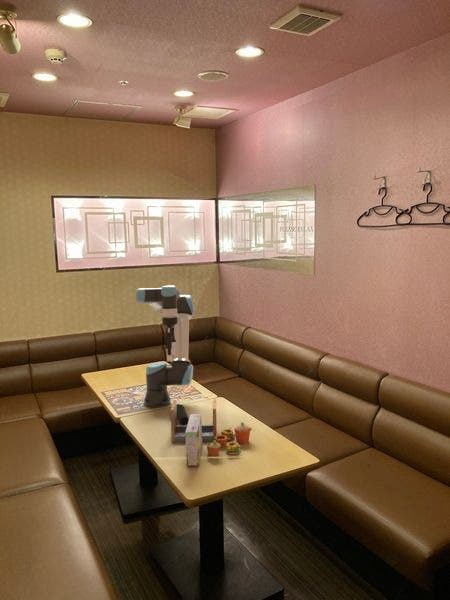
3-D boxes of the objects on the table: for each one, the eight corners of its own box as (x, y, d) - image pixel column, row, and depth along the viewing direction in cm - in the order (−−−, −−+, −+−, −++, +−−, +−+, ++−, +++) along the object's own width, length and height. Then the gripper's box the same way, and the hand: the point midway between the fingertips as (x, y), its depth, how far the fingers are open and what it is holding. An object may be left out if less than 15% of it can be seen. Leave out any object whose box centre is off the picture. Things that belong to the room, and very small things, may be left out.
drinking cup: (178, 430, 244) (169, 414, 262) (192, 426, 246) (182, 410, 265) (176, 416, 242) (166, 401, 260) (190, 412, 244) (180, 398, 263)
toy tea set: (223, 434, 234) (223, 414, 233) (254, 438, 228) (253, 418, 227) (201, 456, 210) (200, 435, 209) (234, 462, 204) (234, 440, 203)
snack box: (190, 444, 222) (190, 413, 220) (203, 444, 222) (202, 413, 220) (185, 466, 201) (184, 431, 199) (199, 466, 201) (198, 431, 199)
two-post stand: (174, 431, 238) (173, 400, 236) (216, 430, 238) (216, 399, 236) (171, 442, 224) (170, 409, 222) (216, 441, 224) (215, 408, 222)
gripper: (165, 312, 253) (166, 352, 256) (159, 320, 228) (160, 364, 231) (179, 312, 253) (180, 352, 256) (175, 320, 229) (176, 363, 231)
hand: (171, 357), depth 243 cm, fingers open, 13 cm apart
